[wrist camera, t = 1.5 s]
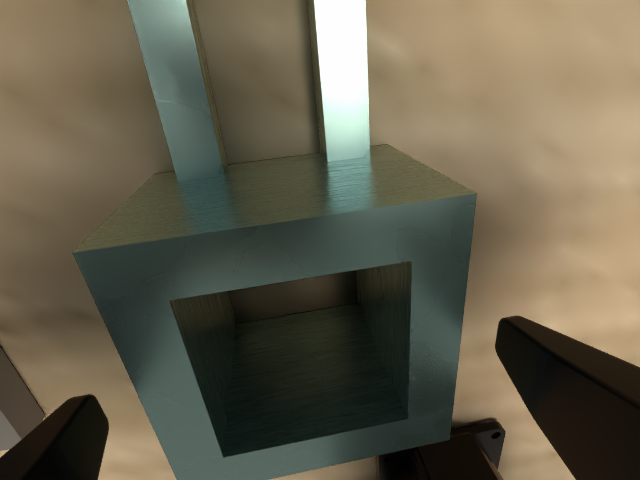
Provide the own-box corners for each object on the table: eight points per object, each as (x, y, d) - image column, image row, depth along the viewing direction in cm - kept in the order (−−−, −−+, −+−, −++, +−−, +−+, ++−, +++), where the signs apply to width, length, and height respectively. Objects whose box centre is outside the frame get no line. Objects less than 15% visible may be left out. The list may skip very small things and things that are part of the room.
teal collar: (388, 322, 14) (449, 439, 9) (210, 354, 13) (185, 497, 9) (385, -61, 9) (519, -204, 4) (88, -41, 8) (-131, -188, 3)
